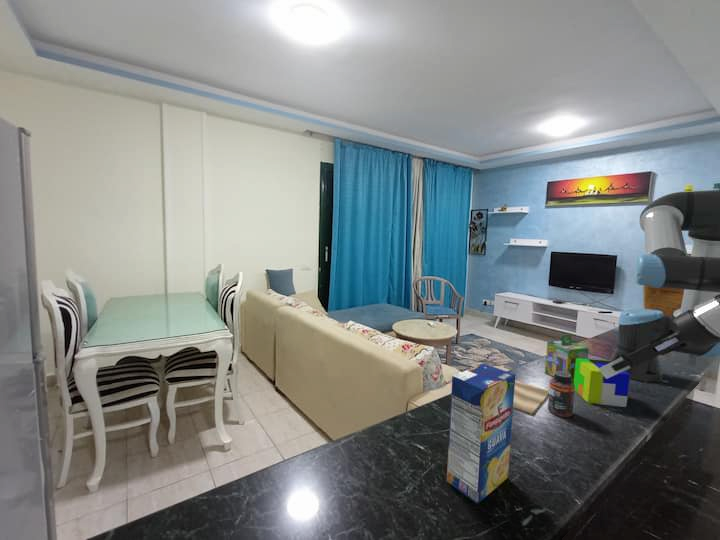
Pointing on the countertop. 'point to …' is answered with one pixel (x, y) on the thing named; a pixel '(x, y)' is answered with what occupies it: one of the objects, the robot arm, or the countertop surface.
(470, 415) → the beverage box
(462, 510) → the countertop surface
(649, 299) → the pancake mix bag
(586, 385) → the puzzle toy
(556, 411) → the supplement bottle
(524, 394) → the wooden board
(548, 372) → the chalk box
